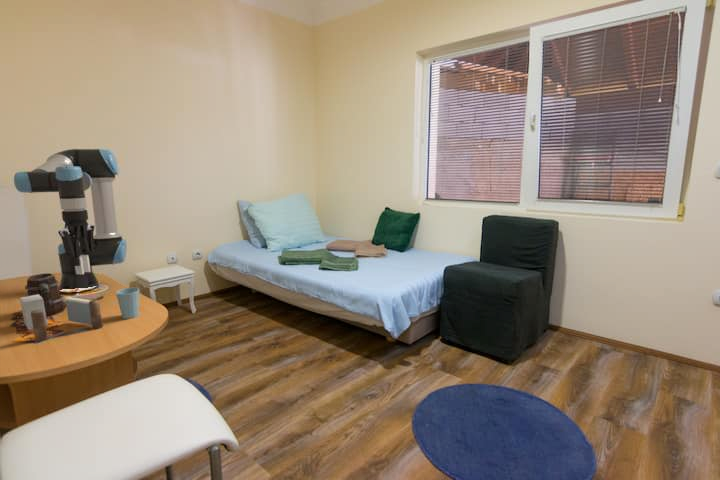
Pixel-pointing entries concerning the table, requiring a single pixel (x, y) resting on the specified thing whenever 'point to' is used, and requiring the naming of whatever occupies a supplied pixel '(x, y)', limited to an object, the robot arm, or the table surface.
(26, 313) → the small box
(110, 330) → the table surface
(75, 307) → the white thick panel
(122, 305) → the cup
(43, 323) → the posts
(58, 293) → the mug
